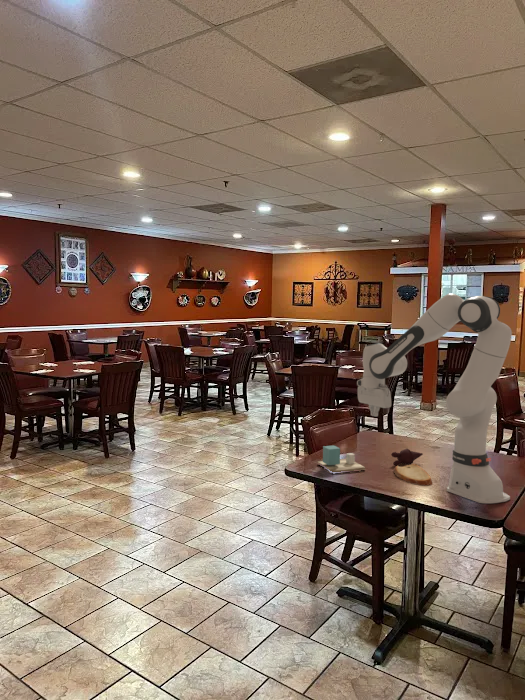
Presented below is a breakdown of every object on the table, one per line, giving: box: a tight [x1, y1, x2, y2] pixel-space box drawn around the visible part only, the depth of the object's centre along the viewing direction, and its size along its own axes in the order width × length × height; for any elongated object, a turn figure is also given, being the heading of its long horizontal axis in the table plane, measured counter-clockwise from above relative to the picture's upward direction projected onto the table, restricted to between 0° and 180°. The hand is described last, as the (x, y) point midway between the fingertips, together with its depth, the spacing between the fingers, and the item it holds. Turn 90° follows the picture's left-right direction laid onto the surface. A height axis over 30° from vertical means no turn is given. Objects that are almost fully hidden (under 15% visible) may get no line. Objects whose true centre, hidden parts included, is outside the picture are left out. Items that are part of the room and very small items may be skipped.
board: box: [316, 458, 366, 472], centre depth 229 cm, size 14×15×2 cm
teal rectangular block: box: [322, 445, 341, 465], centre depth 227 cm, size 5×5×7 cm
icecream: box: [391, 448, 424, 466], centre depth 235 cm, size 7×7×15 cm
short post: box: [345, 452, 356, 464], centre depth 230 cm, size 3×3×4 cm
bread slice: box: [393, 463, 433, 486], centre depth 218 cm, size 18×18×4 cm
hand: (374, 416), depth 226 cm, fingers closed
